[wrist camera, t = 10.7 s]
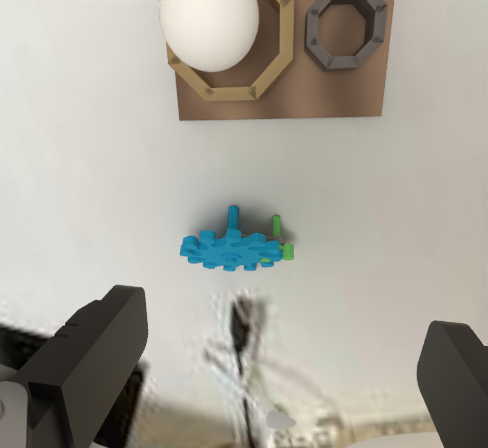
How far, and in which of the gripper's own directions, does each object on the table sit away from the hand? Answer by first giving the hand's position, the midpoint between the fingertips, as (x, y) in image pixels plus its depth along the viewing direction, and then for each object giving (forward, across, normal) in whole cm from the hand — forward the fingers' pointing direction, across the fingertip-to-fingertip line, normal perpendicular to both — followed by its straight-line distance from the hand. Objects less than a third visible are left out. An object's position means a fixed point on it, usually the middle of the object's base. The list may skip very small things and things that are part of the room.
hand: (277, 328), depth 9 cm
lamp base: (+25, +2, -10) cm, 27 cm away
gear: (+25, +4, +9) cm, 27 cm away
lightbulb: (+24, +6, -10) cm, 26 cm away
